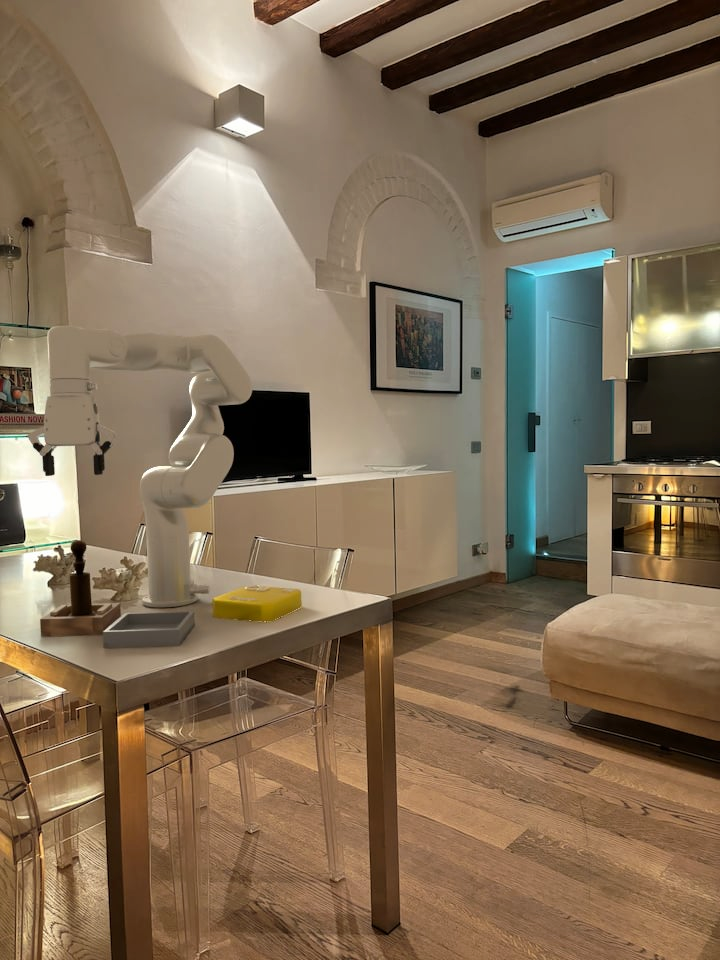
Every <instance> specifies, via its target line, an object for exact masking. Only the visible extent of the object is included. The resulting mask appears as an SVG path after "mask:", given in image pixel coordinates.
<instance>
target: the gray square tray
mask: <svg viewBox="0 0 720 960" xmlns="http://www.w3.org/2000/svg"><path fill="white" fill-rule="evenodd" d="M195 614H196V613H195V610H185V611H184V610H183V611H182V610H181V611H179V610H178V611H153V612H152V611H151V612H149V611H148V612H125V613H123V614H121V617H120V618H119V619H117V620H116V621H115V622H114V623H113V624H111V625H110V626H109V627H108V628H107V629H106V630H104V631H103V635H102V645H103V649H111V648H113V649H115V648H118V649H119V648H141V647H142V648H144V647H145V648H146V647H147V648H149V647H177V646H178V647H179V646H181V644H182V643H183V642H184V641H185V639H186V638H187V637H188V636H189V634H190V633H191V631H193V629H194V627H195V626H196V619H195V617H196V616H195Z"/></svg>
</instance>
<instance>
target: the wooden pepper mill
mask: <svg viewBox="0 0 720 960" xmlns="http://www.w3.org/2000/svg"><path fill="white" fill-rule="evenodd" d="M70 551H71V552H72V554H73V556H74V559H75V560H74V562H73V563H72V565H73V568H74V570H75V572H73V573H70V574H68V575H69V589H70V593H69V594H70V604H71V610H72V613H71V614H69V615H68V617H72V616H95V615H96V614H97V613H96V612H94V611H92V604H93V603H92V589H91V572H89V571H88V572H86V571H85V566H86V561H84V555H85V553H86V551H87V544H86V542H85V541H84V540H81V539H77V540H73V541H71V543H70Z"/></svg>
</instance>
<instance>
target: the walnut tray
mask: <svg viewBox="0 0 720 960" xmlns="http://www.w3.org/2000/svg"><path fill="white" fill-rule="evenodd" d="M121 607H122V606H121V602H114V603H113V602H112V603H111V602H110V603H108V602H107V603H104V602H103V603H92V611H94V612H96V613H97V614H96V615H95V616H72V617H68V615H69V614H71V613H72V610H71V603H70V604H61V605H60V606H58V607H56V608H55V609H53V610H51V611H49V613H48V614H45V616H43V617H41V618H39V623H40V624H39V625H40V637H41V638H42V637H43V638H44V637H45V638H47V637H49V638H51V637H72V636H73V637H74V636H75V637H76V636H77V637H79V636H82V637H83V636H103V631H104V630H106V629H107V628H108V627H109V626H110V625H111V624H113V623H114V622H115V621H116V620H117V619H119V618H120V617H121V616H122V612H121V609H122V608H121Z"/></svg>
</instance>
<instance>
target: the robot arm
mask: <svg viewBox="0 0 720 960" xmlns="http://www.w3.org/2000/svg"><path fill="white" fill-rule="evenodd" d="M47 352H48V368H49V369H48V372H49V373H48V374H49V391H50V392H49V394H50V395H49V396H47V397H46V401H45V407H44V415H43V416H44V420H43V425H42V426H41V427H39V428H37V429H35V430H33V431H32V432H30V433H28V435H27V438H28V440H29V442H30V443H31V445H32V447H33V449H34V450H35V451H36V452H38V453H39V455H40V456H41V457H42V458H41V459H42V471H43V472H44V476H45V477H50V476H51V477H52V476H54V475H56V474H55V472H56V469H55V468H56V467H55V456H54V455H53V452H54V451H55V449H56V448H57V447H74V446H75V447H81V446H84V447H85V446H89V447H90V448H91V449H92V450H93V452H95V454H94V455H93V459H92V460H93V474H94V475H95V476H100V475H103V473H104V472H103V471H105V469H106V467H105V455H106V453H107V452H108V451H109V450H110V449H111V448H112V446H113V443H114V442H115V440H116V438H117V436H118V433H117V432H116V431H114V430H112V429H109V428H108V427H106V426H104V425H102V424H101V419H100V413H99V407H98V402H97V398H96V396H95V395H92V393H93V391H96V390H98V383H96V382H95V383H94V382H92V380H91V374H90V373H91V372H90V371H91V370H98V371H99V370H100V371H130V372H155V373H156V372H157V373H158V372H161V373H163V372H164V373H179V374H181V373H182V374H190V373H191V374H192V373H194V374H195V373H198V374H196V375H195V376H194V377H193V378H192V379H191V381H190V383H189V390H188V391H189V396H190V397H189V398H190V402H191V408H192V415H191V417H190V420H189V422H188V423H187V424H186V426H185V428H184V429H183V430H182V432H181V433H180V434H179V435H178V437H177V438H176V439H175V441H174V442H173V444H172V445H171V446H170V449H169V452H168V462H169V464H170V465H161V466H159V465H158V466H155V467H152V468H150V469H148V470H147V471H145V472H144V473H143V475H142V477H141V478H140V482H139V493H140V498H141V502H142V506H143V511H144V517H145V518H144V520H145V529H146V531H145V532H146V536H145V537H146V554H147V555H146V557H147V559H146V560H147V579H148V581H147V582H148V595H146V596H144V597H143V598H142V599H141V600H142V601H141V603H142V605H143V606H146V607H149V608H172V607H173V608H174V607H181V606H187V605H191V604H193V603H195V602H197V601H198V599H199V594H201V595H208V594H210V589H211V588H210V585H208V584H207V585H206V584H196V583H195V579H192V578H191V577H192V576H191V558H190V557H191V556H190V555H191V553H190V535H189V533H190V529H189V528H190V527H189V523H188V518H187V516H186V514H185V512H184V510H183V509H199V508H202V507H203V506H206V505H207V503H209V502H210V501H211V499H212V498H213V496H214V494H216V492H217V491H218V489H219V487H220V486H221V484H222V482H223V481H224V480H225V478H226V477H227V475H228V473H229V471H230V469H231V468H232V465H233V462H234V455H235V453H234V452H235V451H234V446H233V444H232V441H231V440H230V439H229V438H228V437H227V436H226V435H223V434H224V432H225V431H224V430H225V426H224V425H225V424H224V420H223V418H222V414H221V411H220V408H219V406H229V405H230V406H231V405H233V406H234V405H242V404H244V403H246V402H247V401H248V400H250V397H251V396H252V393H253V382H252V379H251V376H250V375H249V373H248V372H247V370H246V369H245V368H244V366H243V365H242V363H241V362H240V361H239V359H238V358H237V356H236V355H235V354H234V352H233V351H232V350H231V348H230V347H229V346H228V344H227V343H225V342H224V341H223V340H222V339H220V338H219V337H218V336H216V335H214V334H203V335H195V336H194V335H193V336H182V335H181V336H180V335H171V334H170V335H169V334H161V333H152V332H150V333H149V332H146V333H145V332H144V333H143V332H142V333H134V334H133V333H132V334H125V335H123V334H121V332H118V331H116V330H114V329H110V328H109V329H108V328H102V329H101V328H99V329H94V328H93V329H92V328H89V329H87V328H82V326H74V325H56V326H52V327H51V328H50V329H48V331H47ZM102 435H105V436H106V439H105V441H104V442H103V444H101V442H102ZM42 436H43V437H44V439H43V440H44V442H45V444H42V443H41V442H40V439H39V437H42Z"/></svg>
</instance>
